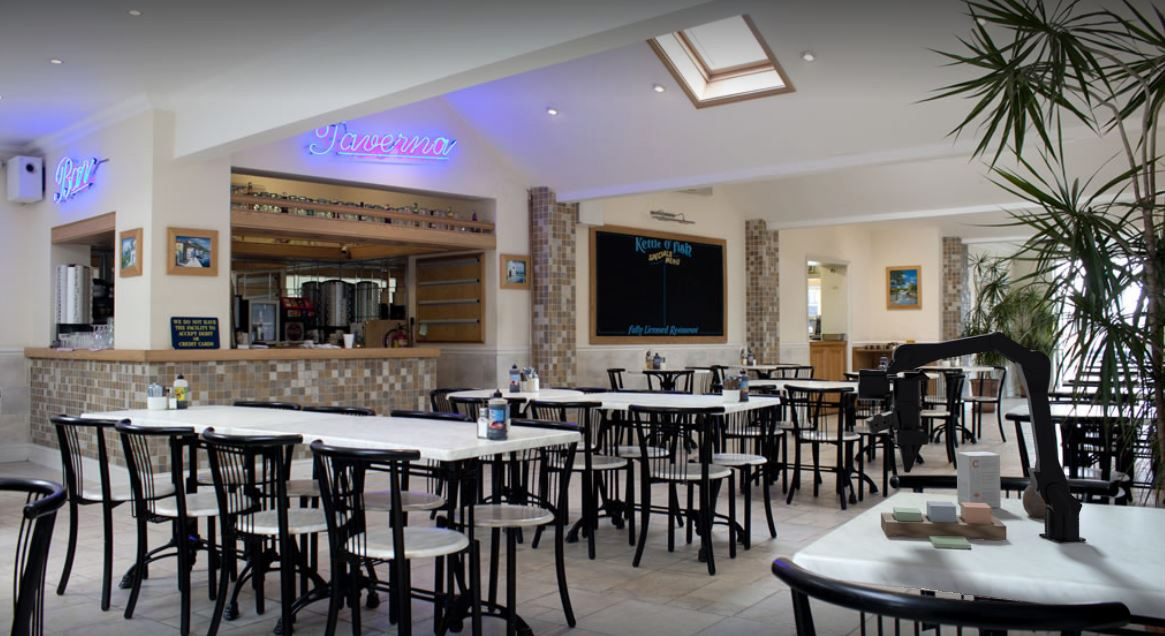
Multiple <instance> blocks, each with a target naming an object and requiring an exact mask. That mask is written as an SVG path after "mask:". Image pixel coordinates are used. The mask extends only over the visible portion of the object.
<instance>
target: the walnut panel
mask: <svg viewBox="0 0 1165 636" xmlns="http://www.w3.org/2000/svg"><path fill="white" fill-rule="evenodd" d="M880 527H881V529H882V531H883V533H884V532H885V533H884V534H885V536H886V535H887V536H886V537H898V536H905V537H904V538H923V539H924V538H925V539H926V538H928V539H929V536H954V537H965V538H966V540H973V539H984V540H983V541H998V540H1007V526H1006V524H1004V523H1003V522H1002V521H1001V520H1000V519H999V518H998V517H997V516H994V515H991V524H981V523H963V522H962V520H961V514H956V523H953V522H929V521H928V520H927V513H922V521H899V520H894V518H893V512H880Z"/></svg>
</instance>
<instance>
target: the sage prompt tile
mask: <svg viewBox="0 0 1165 636" xmlns="http://www.w3.org/2000/svg"><path fill="white" fill-rule="evenodd" d="M928 540H929V542H930V543H931V545H932V546H933V548H938V547H953V548H952V549H962V548H971V549H972V544H971V543H970V542H969V541H968V539H966V538H965V537H954V536H929V538H928Z"/></svg>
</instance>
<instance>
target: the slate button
mask: <svg viewBox="0 0 1165 636" xmlns="http://www.w3.org/2000/svg"><path fill="white" fill-rule="evenodd" d="M926 514H927V520H928V521H929V522H953V523H956V515H957V506H956V505H955V504H954V503H953V502H952V501H929V500H928V501H926Z"/></svg>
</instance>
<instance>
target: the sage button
mask: <svg viewBox="0 0 1165 636" xmlns="http://www.w3.org/2000/svg"><path fill="white" fill-rule="evenodd" d="M892 509H893V510H892V511H893V512H892V513H893V518H894V520H899V521H922V514H923V512H922V511H921V510H920V509H919V508H918V507H906V506H905V507H900V506H894V507H892Z"/></svg>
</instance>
